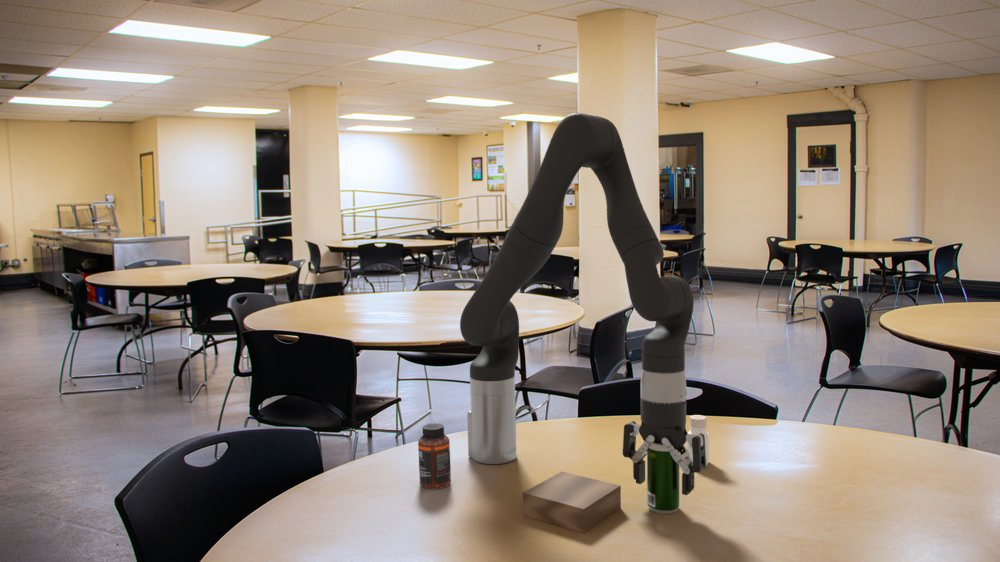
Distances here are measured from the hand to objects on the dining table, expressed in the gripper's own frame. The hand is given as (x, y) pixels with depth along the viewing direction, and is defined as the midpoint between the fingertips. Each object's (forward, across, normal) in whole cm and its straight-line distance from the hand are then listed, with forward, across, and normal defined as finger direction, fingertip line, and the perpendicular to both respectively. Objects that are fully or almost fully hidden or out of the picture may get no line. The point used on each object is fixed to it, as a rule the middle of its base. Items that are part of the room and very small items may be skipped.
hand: (663, 488), depth 128 cm
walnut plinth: (+4, -12, -10) cm, 16 cm away
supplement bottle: (+4, -40, -14) cm, 43 cm away
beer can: (+4, 0, 0) cm, 4 cm away
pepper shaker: (+4, -4, +24) cm, 25 cm away
